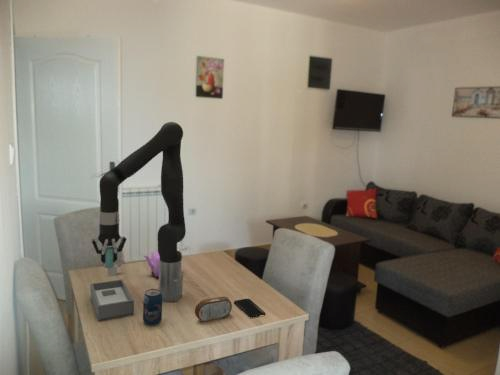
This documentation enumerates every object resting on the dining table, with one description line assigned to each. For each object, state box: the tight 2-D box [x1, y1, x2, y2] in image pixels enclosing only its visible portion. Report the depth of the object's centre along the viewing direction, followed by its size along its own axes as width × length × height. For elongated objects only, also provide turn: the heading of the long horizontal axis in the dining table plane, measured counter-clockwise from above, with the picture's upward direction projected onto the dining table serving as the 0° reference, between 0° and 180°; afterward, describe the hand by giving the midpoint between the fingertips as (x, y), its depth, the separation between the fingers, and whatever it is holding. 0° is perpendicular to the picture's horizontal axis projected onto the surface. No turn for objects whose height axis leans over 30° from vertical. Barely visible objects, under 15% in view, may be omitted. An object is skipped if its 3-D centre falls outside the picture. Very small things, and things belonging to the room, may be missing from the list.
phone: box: [233, 298, 266, 319], centre depth 158 cm, size 8×1×15 cm
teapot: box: [142, 250, 160, 279], centre depth 187 cm, size 20×10×12 cm, turn 118°
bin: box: [90, 279, 135, 322], centre depth 153 cm, size 13×22×6 cm, turn 29°
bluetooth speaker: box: [194, 296, 233, 322], centre depth 148 cm, size 15×3×8 cm, turn 119°
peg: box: [103, 246, 115, 269], centre depth 156 cm, size 4×4×8 cm
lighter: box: [107, 257, 124, 277], centre depth 184 cm, size 7×2×8 cm, turn 120°
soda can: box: [142, 288, 163, 327], centre depth 142 cm, size 7×7×12 cm
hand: (108, 261), depth 156 cm, fingers closed on peg, 3 cm apart
